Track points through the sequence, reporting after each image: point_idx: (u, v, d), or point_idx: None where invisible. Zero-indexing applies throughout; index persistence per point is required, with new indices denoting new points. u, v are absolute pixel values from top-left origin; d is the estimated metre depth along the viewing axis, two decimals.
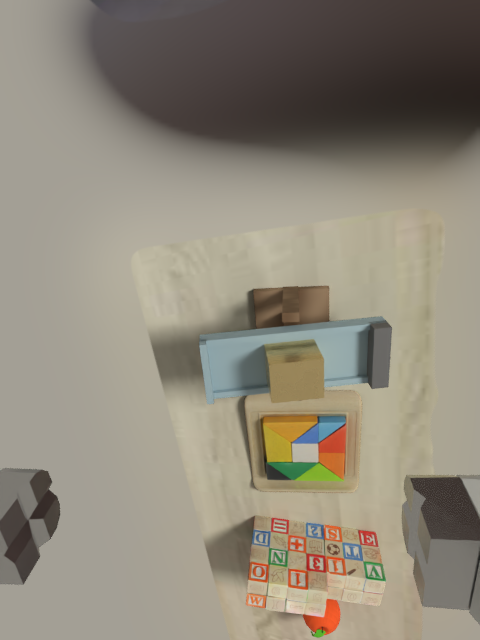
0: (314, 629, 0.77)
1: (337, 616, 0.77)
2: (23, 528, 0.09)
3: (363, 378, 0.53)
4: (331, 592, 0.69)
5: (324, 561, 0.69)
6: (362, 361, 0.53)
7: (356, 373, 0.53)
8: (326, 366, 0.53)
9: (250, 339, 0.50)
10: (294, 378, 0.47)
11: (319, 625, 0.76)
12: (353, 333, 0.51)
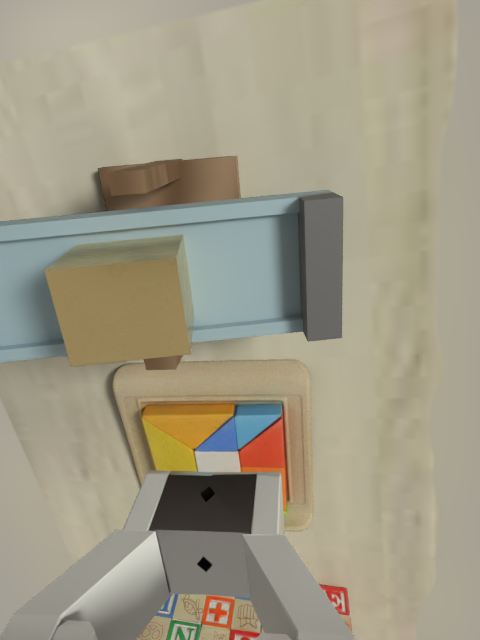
0: None
1: None
2: None
3: (293, 322, 0.26)
4: None
5: None
6: (290, 286, 0.26)
7: (279, 312, 0.26)
8: (216, 297, 0.26)
9: (39, 229, 0.23)
10: (113, 306, 0.20)
11: None
12: (266, 222, 0.24)
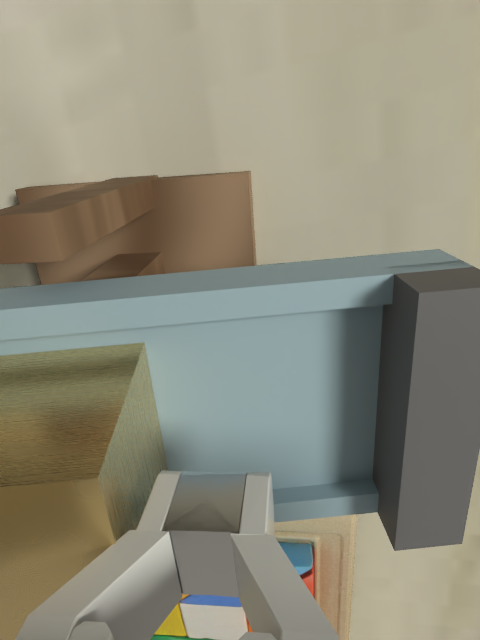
0: None
1: None
2: None
3: (360, 497, 0.14)
4: None
5: None
6: (356, 432, 0.13)
7: (333, 475, 0.14)
8: (213, 451, 0.13)
9: None
10: None
11: None
12: (317, 319, 0.12)
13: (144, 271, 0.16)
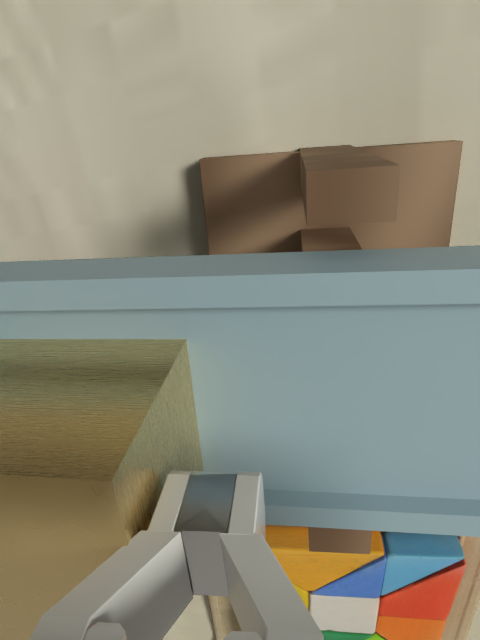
0: None
1: None
2: None
3: None
4: None
5: None
6: None
7: None
8: None
9: (137, 293, 0.10)
10: None
11: None
12: None
13: (358, 245, 0.15)
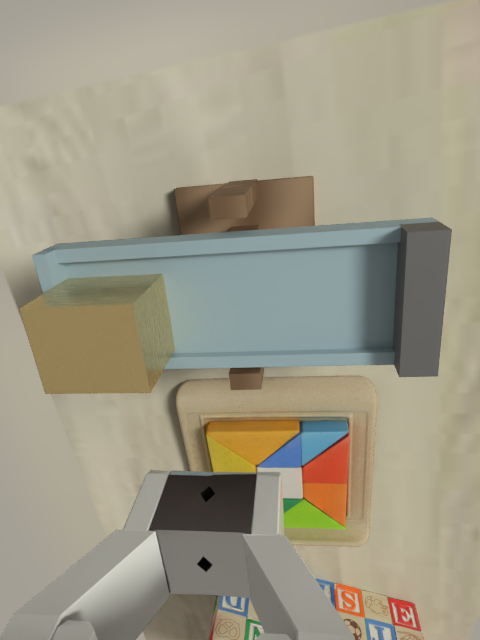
0: None
1: None
2: None
3: (384, 354, 0.25)
4: None
5: None
6: (383, 317, 0.25)
7: (370, 343, 0.25)
8: (304, 323, 0.25)
9: (140, 251, 0.24)
10: (79, 344, 0.22)
11: None
12: (363, 251, 0.23)
13: None
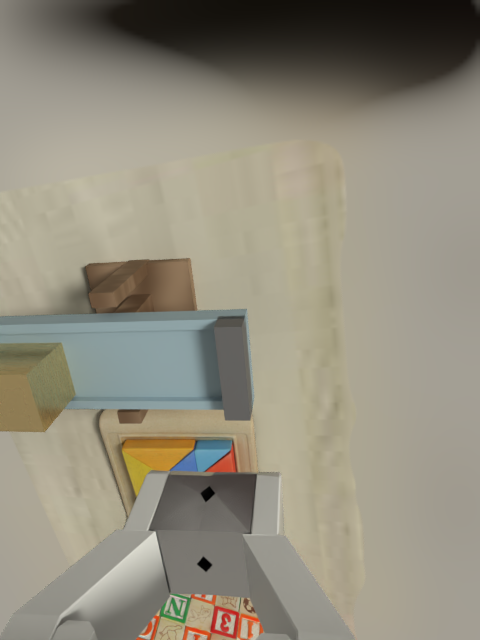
0: None
1: None
2: None
3: (219, 402, 0.34)
4: None
5: (236, 620, 0.50)
6: (218, 376, 0.34)
7: (211, 393, 0.35)
8: (164, 378, 0.35)
9: (42, 328, 0.34)
10: None
11: None
12: (197, 332, 0.33)
13: (143, 304, 0.39)
